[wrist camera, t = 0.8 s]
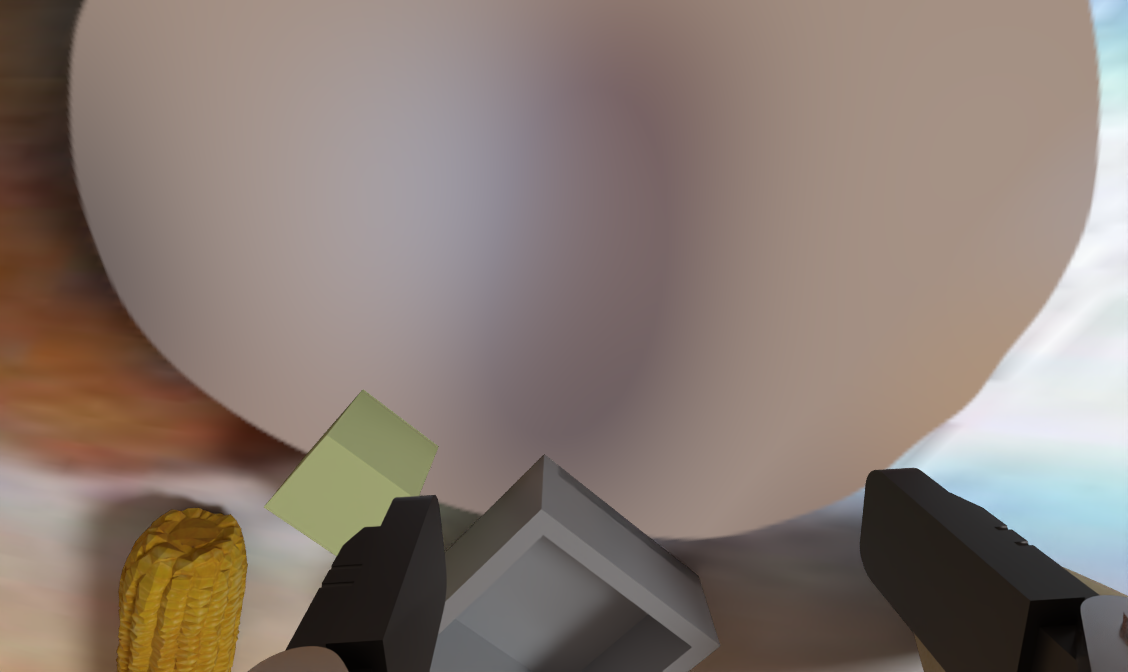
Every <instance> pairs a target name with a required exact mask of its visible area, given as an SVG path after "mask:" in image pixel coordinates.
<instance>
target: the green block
mask: <svg viewBox="0 0 1128 672" xmlns="http://www.w3.org/2000/svg"><path fill="white" fill-rule="evenodd" d="M438 447H439V446H438V445H436V444H435V443H434V442H432V441H431V440H429V439H428V438H427V437H426V436H424V435H423V434H422V433H420V432H419V431H418V430H416V429H415V428H414V427H412V426H411V425H410V424H408V423H407V422H406V421H404V420H403V419H402V418H401V417H399V416H398V415H396V414H395V413H394V412H393V411H391V410H390V409H388V408H387V407H386V406H385V405H383V404H382V403H381V402H379V401H378V400H377V399H375V398H374V397H373V396H371V395H370V394H369V393H367V392H366V391H365V390H362V391H361V392H360V393H359V395H358V396H357V397H356V398H355V399H354V400H353V401H352V403H351V404H350V405H349V406H348V407H347V408H346V409H345V411H344V412H343V413H342V414H341V416H340V417H339V418H338V419H337V420H336V421H335V422H334V423H333V424H332V426H331V427H330V428H329V429H328V430H327V432H326V433H325V434H324V435H323V436H322V437H321V438H320V440H319V441H318V442H317V443H316V444H315V445H314V446H313V448H312V449H311V450H310V451H309V452H308V453H307V455H306V456H305V457H304V458H303V460H302V461H301V462H300V463H299V464H298V466H297V467H296V468H295V469H294V471H293V472H292V473H291V474H290V476H289V477H288V478H287V479H286V481H285V482H284V483H283V484H282V485H281V487H280V488H279V489H278V490H277V492H276V493H275V494H274V495H273V497H272V498H271V499H270V500H269V501H268V503H267V504H266V505H265V506H264V508H266V509H267V510H269V511H270V512H272V513H273V514H275V515H276V516H278V517H279V518H281V519H282V520H284V521H285V522H286V523H288V524H289V525H291V526H292V527H294V528H295V529H297V530H298V531H300V532H301V533H303V534H304V535H306V536H307V537H309V538H310V539H312V540H313V541H315V542H316V543H318V544H319V545H321V546H322V547H324V548H325V549H327V550H328V551H330V552H331V553H333V554H334V555H335V556H337V555H338V553H339V551H340V549H341V548H342V546H343V545H344V544H345V543H346V542H347V541H348V540H350V539H351V538H352V537H353V536H354V535H355V534H357V533H358V532H359V531H360V530H361V529H362V528H364V527H373V526H381V524H382V522H383V520H384V517H385V515H386V513H387V511H388V509H389V507H390V505H391V502H392V500H393V499H394V498H395V497H410V496H419V495H420V492H421V490H422V487H423V485H424V482H425V480H426V477H427V474H428V472H429V469H430V467H431V464H432V462H433V459H434V457H435V454H436V452H437V449H438Z"/></svg>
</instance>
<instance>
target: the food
mask: <svg viewBox="0 0 1128 672" xmlns="http://www.w3.org/2000/svg"><path fill="white" fill-rule="evenodd" d="M244 542H245V541H244V538H243V535H242V532H241V528H240V526H239V524H238V523H237V521H236V520H235V518H234V517H233V516H232V515H231V514H230V515H225V516H224V515H223V514H222V513H219V514H213V513H211V512H208V511H205V510H202V509H200V508H187V509H185V510H184V511H178V510H173V509H172V510H170V511H168V512H167V513H165V514H164V515H162V516H161V517H159V518H158V519H157V520H155V521H154V522H153V523H152V525H151V527H149V528H148V529H147V530H146V531H145V532H144V533H143V534H142V535H141V536H140V537H139V538H138V539H137V541H136V542H135V544H134V546H133V548H132V550H131V553H130V554H129V556H128V558H127V560H126V562H125V565H124V567H123V570H122V574H121V579H120V585H119V591H118V592H119V607H120V609H119V618H120V627H119V635H118V637H119V638H120V639H119V646H118V649H117V653H118V658H117V659H116V661H117V663H118V664H117V672H231V667H232V666H233V660H234V655H235V648H236V641H237V640H238V637H237V635H238V633H239V631H238V627H239V625H240V615H241V610H242V601H243V597H244V592H245V582H246V573H247V566H248V564H247V558H246V549H245V544H244Z"/></svg>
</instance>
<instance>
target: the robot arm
mask: <svg viewBox="0 0 1128 672" xmlns="http://www.w3.org/2000/svg"><path fill="white" fill-rule="evenodd" d="M860 553H861V559H862V562H863V566H864V568H865V571H866V573H867V575H868V577H869V578H870V580H871V581H872V582H873V584H874V585H875V586H876V587H877V588H878V590H879V591H880V592H881V593H882V595H883V596H884V597H885V598H886V599H887V601H888V602H889V603H890V604H891V606H892V607H893V608H894V609H895V610H896V612H897V613H898V614H899V615H900V617H901V618H902V619H903V620H904V621H905V623H906V624H907V625H908V626H909V628H910V629H911V630H912V631H913V632H914V634H915V635H916V636H917V637H918V639H919V640H920V641H921V642H922V643H923V645H924V646H925V647H926V648H927V650H928V651H929V652H930V653H931V654H932V656H933V657H934V658H935V659H936V661H937V662H938V663H939V664H940V665H941V667H942V668H943V669H944V670H945V672H1128V597H1123V596H1114V595H1099V594H1098V593H1096V592H1095V591H1094V590H1092V589H1091V588H1090V587H1088V586H1087V585H1086V584H1084V583H1083V582H1082V581H1080V580H1079V579H1078V578H1076V577H1075V576H1074V575H1072V574H1071V573H1070V572H1068V571H1067V570H1065V569H1064V568H1063V567H1061V566H1060V565H1059V564H1057V563H1056V562H1055V561H1053V560H1052V559H1051V558H1049V557H1048V556H1047V555H1045V554H1044V553H1043V552H1041V551H1040V550H1039V549H1037V548H1036V547H1035V546H1033V545H1028V541H1027V540H1025V539H1024V538H1023V537H1021V536H1020V535H1019V534H1017V533H1016V532H1015V531H1013V530H1008V528H1007V525H1005V524H1004V523H1003V522H1001V521H1000V520H999V519H997V518H996V517H995V516H993V515H992V514H991V513H989V512H988V511H987V510H985V509H984V508H982V507H980V506H978V505H976V504H974V503H971V502H969V501H967V500H965V499H963V498H961V497H958V496H956V495H954V494H952V493H949V492H948V491H947V490H945V489H944V488H943V487H942V486H940V485H939V484H938V483H936V482H935V481H934V480H932V479H931V478H930V477H929V476H927V475H926V474H925V473H923V472H922V471H921V470H919V469H917V468H902V469H885V470H874V471H871V472H870V473H869V475H868V477H867V480H866V485H865V496H864V506H863V516H862V527H861V537H860ZM446 589H447V572H446V562H445V553H444V544H443V535H442V526H441V517H440V509H439V503H438V499H437V497H436V495H427V496H410V497H395V498H394V499H393V500H392V502H391V505H390V507H389V509H388V511H387V513H386V515H385V517H384V520H383V522H382V524H381V526H373V527H364V528H362V529H361V530H360V531H359V532H358V533H357V534H355V535H354V536H353V537H352V538H351V539H350V540H348V541H347V542H346V543H345V544H344V545H343V546H342V548H341V549H340V551H339V553H338V555H337V557H336V559H335V560H334V562H333V564H332V568H331V570H329V571H328V573H327V575H326V577H325V579H324V581H323V582H322V588H319V590H318V592H317V593H316V595H315V597H314V599H313V601H312V603H311V604H310V606H309V608H308V610H307V612H306V613H305V615H304V617H303V619H302V621H301V623H300V624H299V626H298V628H297V630H296V632H295V634H294V635H293V637H292V639H291V641H290V643H289V645H288V646H287V648H286V650H285V651H283V652H280V653H278V654H276V655H273V656H271V657H269V658H267V659H266V660H264V661H262V662H260V663H259V664H257V665H256V666H254V667H253V668H252V669H250V670H249V671H248V672H430V667H431V663H432V659H433V654H434V650H435V646H436V641H437V637H438V633H439V628H440V624H441V619H442V615H443V611H444V606H445V600H446Z"/></svg>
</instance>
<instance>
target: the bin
mask: <svg viewBox="0 0 1128 672" xmlns="http://www.w3.org/2000/svg"><path fill="white" fill-rule="evenodd" d="M445 562H446V572H447V589H446V600H445V606H444V611H443V615H442V619H441V624H440V628H439V633H438V637H437V641H436V646H435V650H434V654H433V659H432V663H431V667H430V672H688V671H690V670H691V669H692V668H693V667H695V666H696V665H697V664H698V663H700V662H701V661H702V660H703V659H705V658H706V657H707V656H708V655H710V654H711V653H712V652H713V651H715V650H716V649H717V648H718V647H720V643H719V640H718V637H717V633H716V630H715V627H714V624H713V621H712V618H711V615H710V611H709V608H708V605H707V602H706V599H705V596H704V593H703V589H702V586H701V583H700V580H699V577H698V576H697V575H696V574H695V573H694V572H692V571H691V570H690V569H689V568H687V567H686V566H685V565H684V564H682V563H681V562H680V561H679V560H677V559H676V558H675V557H673V556H672V555H671V554H670V553H668V552H667V551H666V550H665V549H663V548H662V547H661V546H660V545H658V544H657V543H656V542H655V541H653V540H652V539H651V538H649V537H648V536H647V535H646V534H644V533H643V532H642V531H640V530H639V529H638V528H637V527H636V526H634V525H633V524H632V523H630V522H629V521H628V520H627V519H625V518H624V517H623V516H622V515H620V514H619V513H618V512H617V511H615V510H614V509H613V508H612V507H610V506H609V505H608V504H607V503H605V502H604V501H603V500H601V499H600V498H599V497H597V496H596V495H595V494H594V493H593V492H591V491H590V490H589V489H588V488H586V487H585V486H584V485H583V484H581V483H580V482H579V481H577V480H576V479H575V478H574V477H572V476H571V475H570V474H569V473H567V472H566V471H565V470H564V469H562V468H561V467H560V466H559V465H557V464H556V463H555V462H553V461H552V460H551V459H550V458H548V457H547V456H546V455H545V454H544V455H543V456H542V457H541V458H540V459H539V460H538V461H537V462H536V463H535V464H534V465H533V466H532V467H531V468H530V469H529V470H528V471H527V472H526V473H525V474H524V475H523V476H522V477H521V478H520V479H519V480H518V481H517V482H516V483H515V484H514V485H513V486H512V487H511V488H510V489H509V490H508V491H507V492H506V493H505V494H504V495H503V496H502V497H501V498H500V499H499V500H498V501H497V502H496V503H495V504H494V505H493V506H492V507H491V508H490V509H489V510H488V511H487V512H486V513H485V514H484V515H483V516H482V517H481V518H480V519H479V520H478V521H477V522H476V523H475V524H474V525H473V526H472V527H471V528H470V529H469V530H468V531H467V532H466V533H465V534H464V535H463V536H461V537H460V538H459V539H458V540H457V541H456V542H455V543H454V544H453V545H452V546H451V547H450V548H449V549H448V550H447V551H446V552H445Z"/></svg>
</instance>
